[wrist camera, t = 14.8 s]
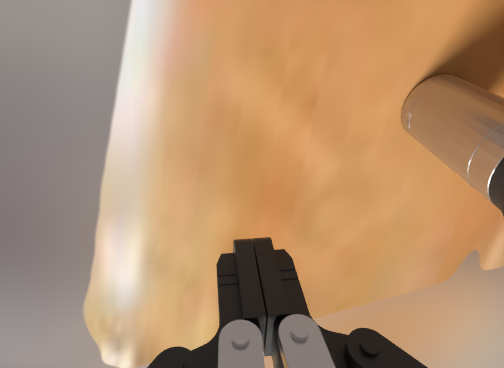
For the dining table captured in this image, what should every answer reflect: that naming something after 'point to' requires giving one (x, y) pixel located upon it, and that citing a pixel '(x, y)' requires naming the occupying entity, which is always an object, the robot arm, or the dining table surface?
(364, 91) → the dining table surface
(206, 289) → the dining table surface
